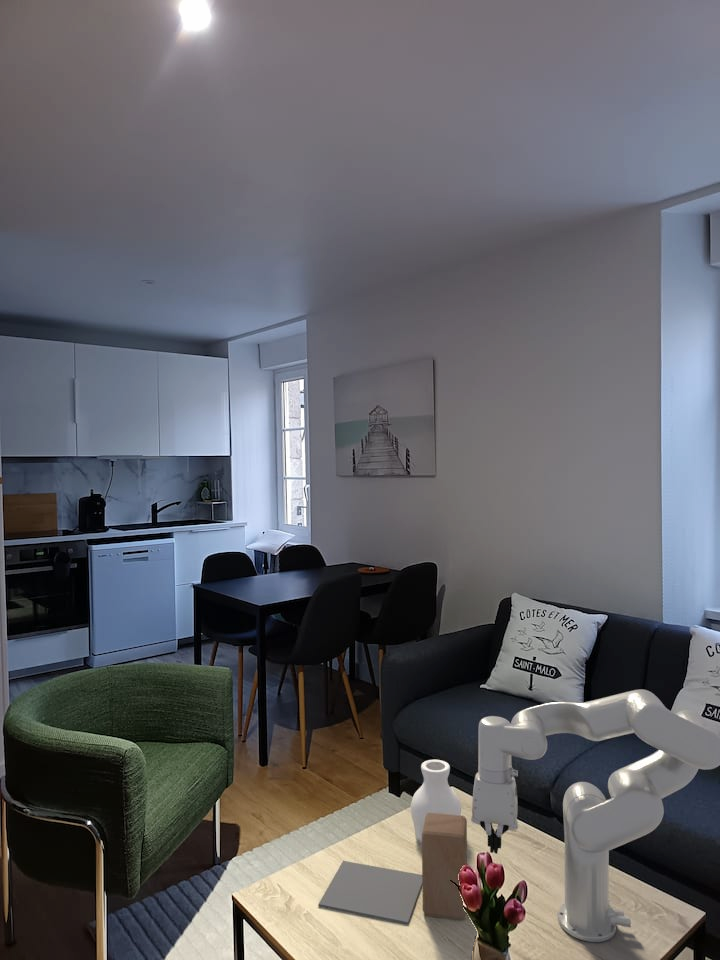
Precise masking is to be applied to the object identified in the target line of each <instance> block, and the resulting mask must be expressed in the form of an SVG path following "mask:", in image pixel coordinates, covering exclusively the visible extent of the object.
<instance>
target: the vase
mask: <svg viewBox="0 0 720 960" xmlns="http://www.w3.org/2000/svg"><path fill="white" fill-rule="evenodd" d="M420 770H421V773H422V777H423V782H422V785H420V786H419V787H418V789H417V790H416V791H415V792H414V794H413V797H412V799H411V802H410V814H411V819H412V823H413V828H414V835H415V838H416V840H417V841H418V842H420V843H421V844H422V831H423V826H424V821H425V816H426V814H427V813H438V814H449V815H460V816H462V803H461V800H460V798H459V797H458V795H457V794H456V792H455V791H454V790H453V788H452V787H450V785H449V782H448V777H449V775H450V771H451V766H450V764H449V763H448V762H447V761H445V760H440V759H428V760H425V761H424V762H422V763H421V765H420Z"/></svg>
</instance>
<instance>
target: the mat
mask: <svg viewBox="0 0 720 960" xmlns="http://www.w3.org/2000/svg"><path fill="white" fill-rule="evenodd" d="M421 889H422V874H420V873H419V874H418V873H415V872H408V871H402V870H397V869H391V868H387V867H380V866H375V865H370V864H369V865H368V864H362V863H358V862H351V861H347V860H342V862H341V863H340V865H339V867H338V869H337V870H336V872H335V874H334V876H333V877H332V879H331V881H330V883H329V885H328V886H327V888H326V890H325V891H324V892H323V893H324V894H323V895H322V898H321V899H320V900H319V902H318V907H319V908H324V909H329V910H334V911H339V912H343V913H349V914H354V915H359V916H363V917H368V918H373V919H379V920H383V921H387V922H392V923H398V924H403V925H409V923H410V921H411V917H412V915H413V911H414V909H415V906H416V903H417V900H418V898H419V895H420V893H421Z"/></svg>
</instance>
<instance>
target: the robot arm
mask: <svg viewBox="0 0 720 960" xmlns="http://www.w3.org/2000/svg"><path fill="white" fill-rule="evenodd" d="M555 734H573V735H577V736H580V737H583V738H584V739H586V740H590V741H592V742H601V741H605V740H608V739H612V738H616V737H621V736H624V735H630V734H635V735H636V736H637V738H639V739H640V740H642V741H643V742H645V743H646V744H648V745H649V746H651V747H653V748H655V749H657V750H656V751H655V752H654V753H651V754H650V755H647V756H646V757H643V758H641V759H639V760H637V761H635V762H633V763H632V762H631V763H630V764H628V765H626V766H624V767H621V768H619V769H617V770H615V771H613V773H611V775H610V776H609V777H608V780H607V781H608V782H607V789H608V793H609V795H610V798H608V799H606V796H605V795H604V794H603V793H602V790H600V789H599V788H598V787H597V786H596V785H594V784H592V783H590V782H587V781H577V782H574V783H572V784H571V785H570V786H569V787H568V788H567V790H566V791H565V793H564V796H563V801H562V813H563V815H562V816H563V831H564V832H563V833H564V834H563V835H564V904H562V905H560V907H559V908H558V911H557V920H558V923H559V925H560V927H561V928H562V929H563V930H564V931H565V932H566V933H567V934H569V935H570V936H572V937H573V938H576V939H578V940H580V941H584V942H589V943H600V942H606V941H608V940H610V939H613V937H614V936H615V934H616V933H617V932H616V931H617V926H620V927H621V926H622V927H624V928H625V927H626V928H631V927H632V926H631V925H632V924H631V923H632V922H631V917H628V916H625V911H624V910H621V909H614V907H611V902H610V899H609V898H610V895H609V894H610V892H609V888H610V887H609V886H610V885H609V884H610V883H609V880H610V879H609V871H610V870H609V868H610V865H609V859H610V858H609V857H610V856H609V855H610V854H609V853H610V851H611V850H613V849H616V848H618V847H621V846H624V845H625V844H627V843H630V842H633V841H635V840H637V839H640V838H641V837H644V836H646V835H649V834H650V833H652V832H653V831H654V830H656V829H657V827H658V826H659V825H660V824H661V822H662V820H663V817H664V813H665V810H664V804H663V799H664V798H666V797H668V796H670V795H672V794H673V793H675V792H677V791H679V790H681V789H683V788H685V787H686V786H687V785H688V784H689V783H690V782H692V780H693V779H694V778H695V776H696V775H697V773H698V771H699V769H700V770H704V771H705V770H713V769H716V768H718V767H719V766H720V735H719V734H718V732H717V731H716V730H715V729H714V728H713V727H712V726H711V724H710V723H709V722H708V721H707V720H706V719H705V718H704V717H703V716H702V715H701V714H699V712H696V711H694V710H691V709H682V710H680V711H678V712H676V713H674V711H671V710H670V709H668V708H667V707H666V706H665V704H663V702H662V701H661V700H660V698H658V696H656V695H655V694H654V693H653V692H652V691H649V690H647V689H634V690H630V691H625V692H621V693H617V694H614V695H609V696H605V697H602V698H598V699H597V698H596V699H594V700H589V701H585V702H584V701H583V702H574V701H571V702H570V701H569V702H564V701H561V702H560V701H559V702H549V703H542V704H540V705H534V706H530V707H527V708H525V709H522V710H520V711H518V712H516V714H515V715H514V716H513V717H512V719H511V721H509V720H508V719H506V718H504V717H501V716H498V715H497V716H496V715H489V716H485V717H483V718H481V719H480V720H479V723H478V751H477V752H478V769H477V771H478V772H476V774H475V776H474V782H473V783H474V784H473V789H472V790H473V791H472V805H471V806H472V807H471V815H472V816H471V818H470V820H471V823H474V824H475V825H476V824H477V825H478V826H480V827H481V828H482V829H483V830H484V831H485V833H486V835H487V847H489V853H492V854H493V853H494V854H498V852H499V849H502V836H503V834H505V833H506V832H507V831H509V830H511V831H513V830H518V828H519V821H518V818H517V817H518V811H519V809H518V807H519V805H518V790H517V784H516V779H515V777H518V776H519V775H518V773H519V771H518V770H517V769H514V768H513V767H512V766H513V765H512V756H513V757H516V758H520V759H524V760H528V761H529V760H531V761H533V760H534V761H535V760H538V759H541V758H542V757H543V756H544V755H545V754H546V752H547V750H548V741H547V736H551V735H555ZM493 824H497V828H495V829H494V825H493Z"/></svg>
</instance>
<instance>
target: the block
mask: <svg viewBox="0 0 720 960" xmlns="http://www.w3.org/2000/svg"><path fill="white" fill-rule="evenodd" d="M467 823H468V822H467V818H466V816H464V815H461V816H460V815H449V814H438V813H427V814H426V816H425V821H424V826H423V831H422V843H421V866H422V867H421V871H422V873H421V875H422V887H421V889H422V890H421V891H422V892H421V893H422V912H423V914H424V915H425V916H427V917H428V916H429V917H435V918H442V919H443V918H444V919H452V920H453V919H454V920H461V921H462V920H464V919H465V918H466V916H467V911H466V912H465V911H464V909H463V901H462V898H461V896H460V893H459V890H458V887H457V886H455V885H454V884H453V883H452V882H451V881H450V880H452V881H453V882H455V883H456V884H457V885H459V880H458V874H459V872H460V869H461V868H462V866H463V865H467V866H468V841H467V840H468V834H467V833H468V830H467V828H468V827H467V826H468V825H467Z"/></svg>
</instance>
